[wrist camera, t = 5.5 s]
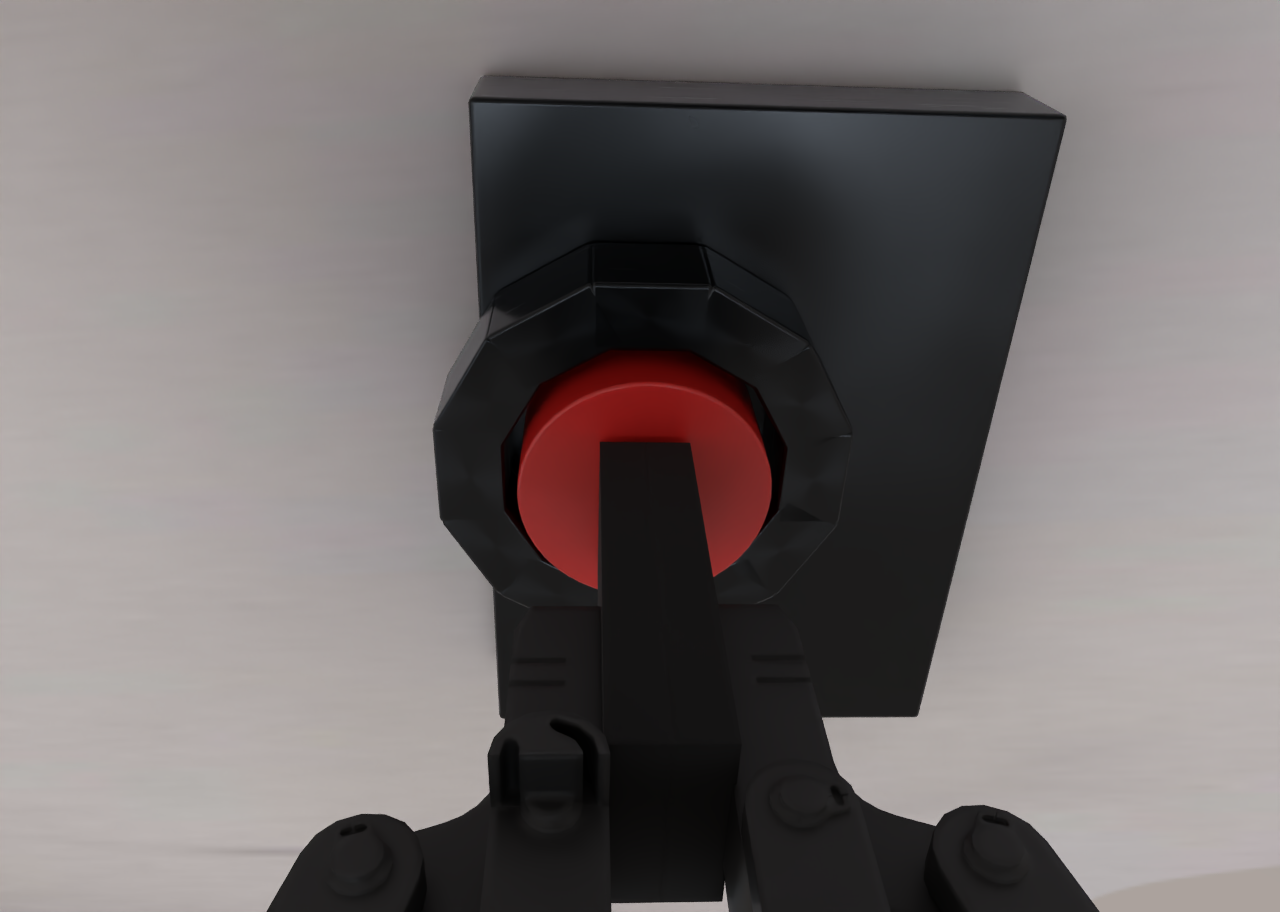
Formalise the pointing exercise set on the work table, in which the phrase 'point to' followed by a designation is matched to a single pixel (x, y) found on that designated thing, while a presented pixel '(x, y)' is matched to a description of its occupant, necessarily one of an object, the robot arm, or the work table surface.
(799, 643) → the robot arm
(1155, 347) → the work table surface
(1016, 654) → the work table surface
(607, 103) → the switch box
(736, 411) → the button
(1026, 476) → the work table surface
